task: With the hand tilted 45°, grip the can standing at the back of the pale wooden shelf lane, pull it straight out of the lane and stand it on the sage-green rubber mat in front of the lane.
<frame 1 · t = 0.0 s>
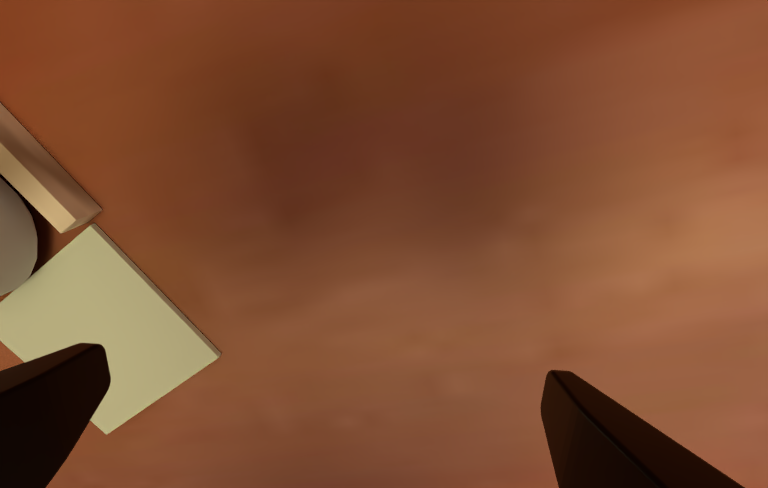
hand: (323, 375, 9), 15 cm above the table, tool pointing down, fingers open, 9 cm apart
mat: (103, 335, 26), on the table
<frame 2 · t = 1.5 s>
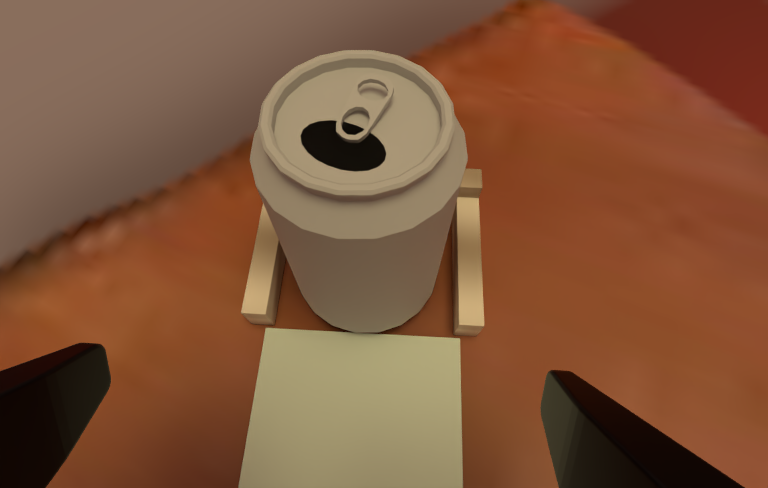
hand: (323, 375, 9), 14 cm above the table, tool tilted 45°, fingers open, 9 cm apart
mat: (354, 439, 21), on the table
shelf lane: (367, 273, 24), on the table
can: (367, 273, 24), on the table, touching mat
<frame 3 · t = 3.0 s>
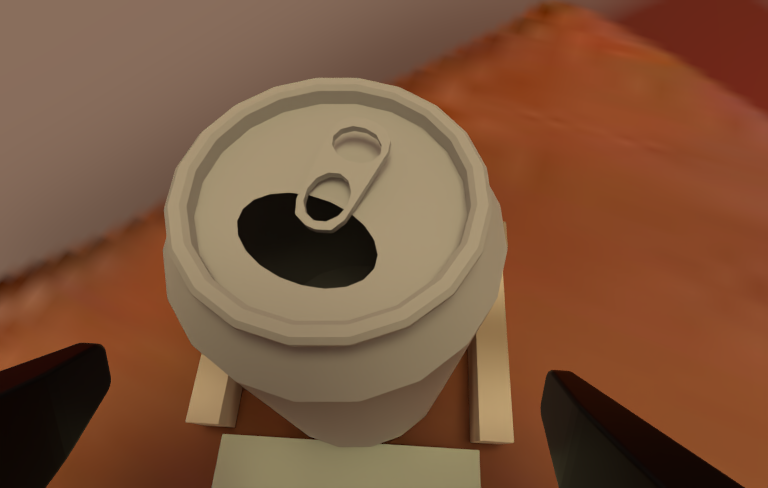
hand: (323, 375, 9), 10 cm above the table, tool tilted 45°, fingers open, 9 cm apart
shelf lane: (358, 354, 19), on the table
can: (358, 354, 19), on the table, touching mat
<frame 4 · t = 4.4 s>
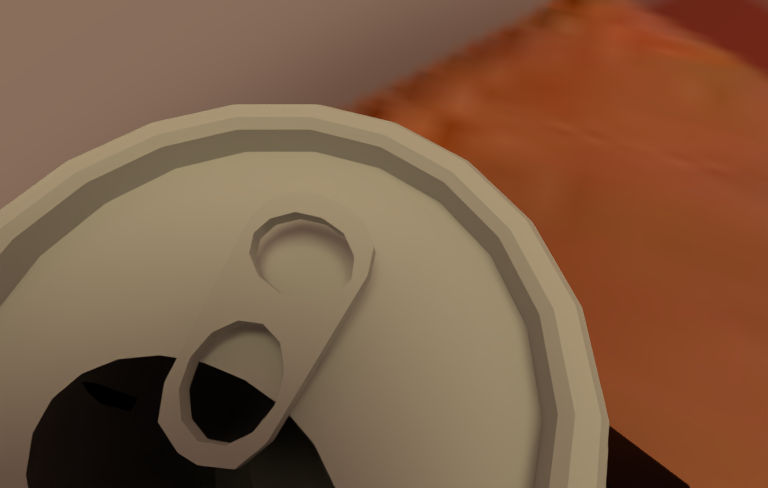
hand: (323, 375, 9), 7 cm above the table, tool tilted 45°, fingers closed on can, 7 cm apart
can: (343, 453, 14), on the table, touching gripper, mat
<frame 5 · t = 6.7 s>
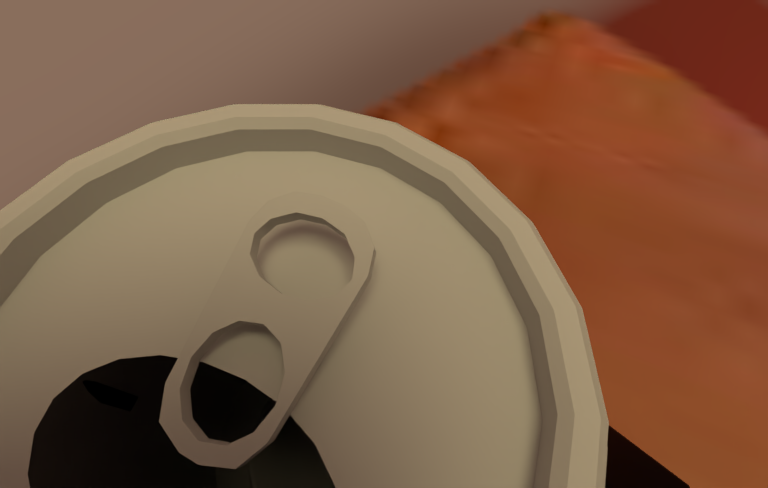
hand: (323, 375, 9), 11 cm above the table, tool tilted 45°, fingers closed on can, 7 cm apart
can: (343, 451, 14), point 4 cm above the table, touching gripper
when the fingers open (8 cm above the table, at t = 9.0 s): can drops 1 cm, resting on mat.
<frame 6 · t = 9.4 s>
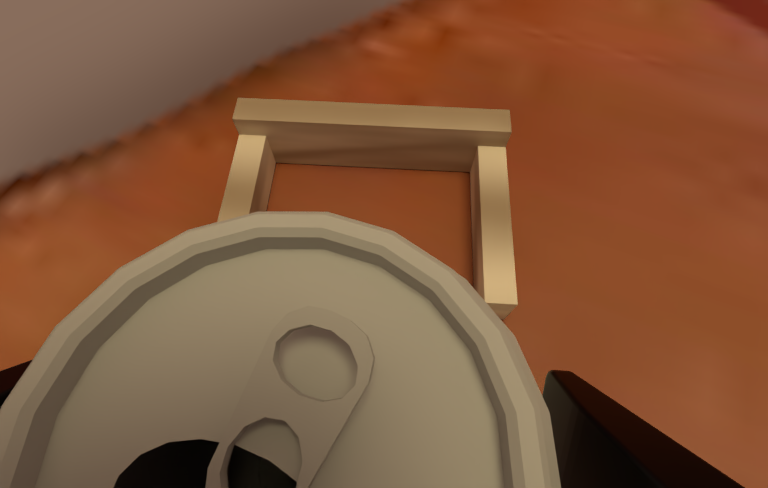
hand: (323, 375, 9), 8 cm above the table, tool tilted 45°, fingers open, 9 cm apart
shelf lane: (366, 241, 19), on the table
can: (346, 458, 15), resting on mat
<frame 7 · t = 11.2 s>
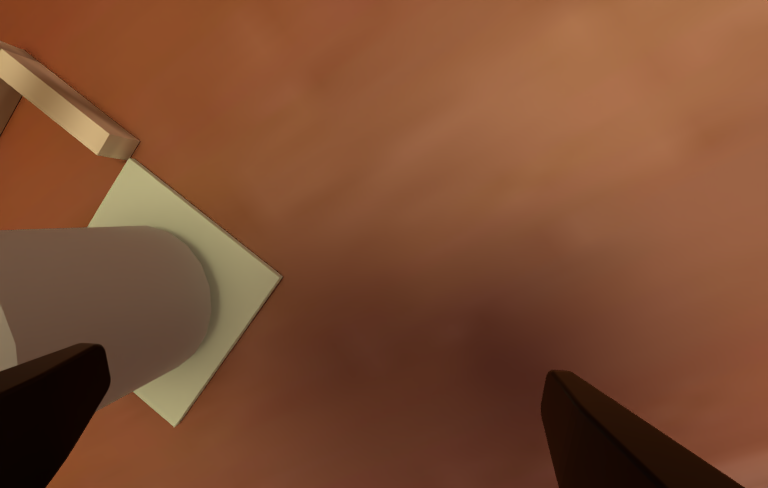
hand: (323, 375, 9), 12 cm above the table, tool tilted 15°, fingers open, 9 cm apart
mat: (157, 293, 23), on the table
shelf lane: (41, 197, 24), on the table
can: (157, 296, 23), resting on mat
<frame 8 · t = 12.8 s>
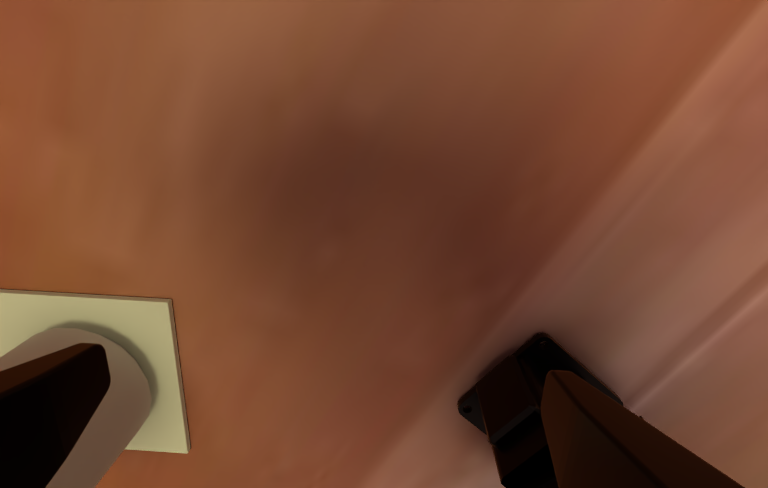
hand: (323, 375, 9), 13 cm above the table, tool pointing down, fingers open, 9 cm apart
mat: (94, 373, 25), on the table
can: (96, 376, 25), resting on mat
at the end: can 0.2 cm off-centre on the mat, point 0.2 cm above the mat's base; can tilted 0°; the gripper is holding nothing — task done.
